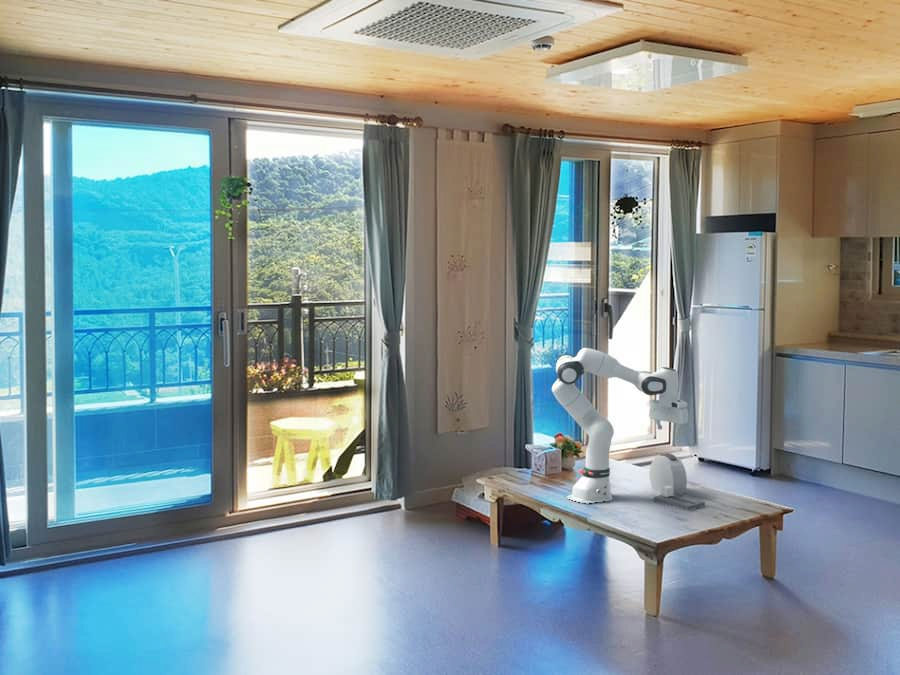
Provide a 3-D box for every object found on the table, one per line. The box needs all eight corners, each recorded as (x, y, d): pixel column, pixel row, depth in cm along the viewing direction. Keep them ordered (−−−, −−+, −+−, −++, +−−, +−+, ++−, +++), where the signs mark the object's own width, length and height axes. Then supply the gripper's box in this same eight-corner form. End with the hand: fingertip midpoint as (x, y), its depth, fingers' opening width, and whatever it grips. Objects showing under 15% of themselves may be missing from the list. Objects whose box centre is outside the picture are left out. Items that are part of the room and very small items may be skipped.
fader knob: (666, 499, 408) (666, 488, 408) (661, 498, 410) (661, 487, 410) (673, 497, 411) (673, 486, 411) (668, 496, 414) (668, 485, 413)
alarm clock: (686, 499, 415) (687, 458, 414) (672, 500, 413) (674, 459, 411) (662, 488, 436) (663, 449, 434) (649, 489, 433) (650, 450, 431)
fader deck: (688, 510, 394) (688, 506, 394) (653, 501, 410) (653, 496, 410) (704, 506, 402) (704, 501, 402) (669, 496, 417) (669, 492, 417)
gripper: (646, 399, 415) (645, 428, 416) (682, 405, 399) (681, 435, 400) (655, 398, 419) (654, 426, 420) (690, 403, 403) (689, 433, 404)
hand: (667, 430), depth 410 cm, fingers open, 8 cm apart
